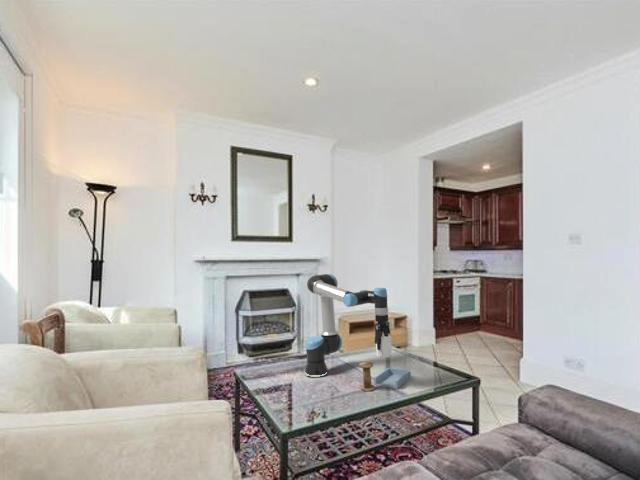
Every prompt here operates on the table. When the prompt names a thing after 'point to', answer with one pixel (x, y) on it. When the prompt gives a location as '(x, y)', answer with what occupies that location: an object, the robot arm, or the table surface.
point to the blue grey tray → (392, 377)
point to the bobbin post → (367, 376)
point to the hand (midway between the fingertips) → (383, 352)
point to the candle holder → (385, 346)
